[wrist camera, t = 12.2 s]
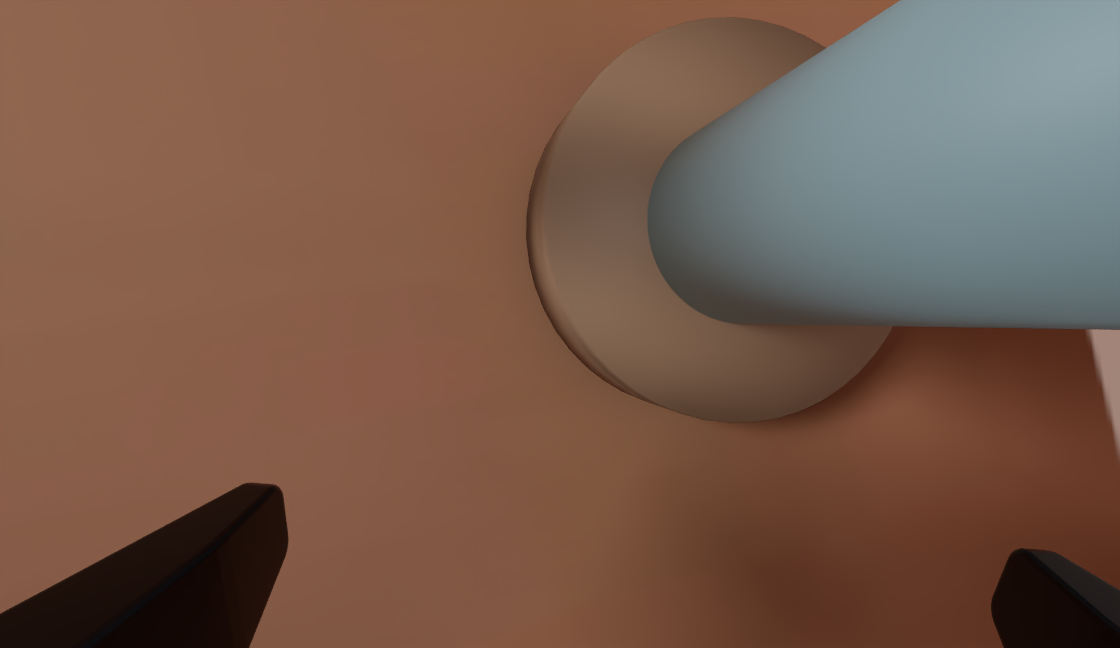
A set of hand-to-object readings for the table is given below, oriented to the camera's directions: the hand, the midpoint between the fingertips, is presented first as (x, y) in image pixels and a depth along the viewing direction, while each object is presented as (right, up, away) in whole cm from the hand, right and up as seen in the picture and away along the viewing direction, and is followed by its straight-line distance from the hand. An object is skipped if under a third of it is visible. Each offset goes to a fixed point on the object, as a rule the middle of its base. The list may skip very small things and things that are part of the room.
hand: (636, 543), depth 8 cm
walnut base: (+3, +6, +13) cm, 15 cm away
